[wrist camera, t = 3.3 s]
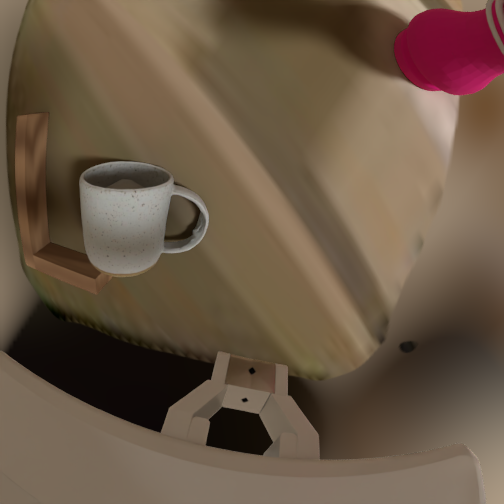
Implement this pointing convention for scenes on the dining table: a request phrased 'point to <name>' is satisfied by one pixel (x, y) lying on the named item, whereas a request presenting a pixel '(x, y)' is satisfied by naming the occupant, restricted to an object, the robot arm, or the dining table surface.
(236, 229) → the dining table surface
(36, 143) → the walnut stop
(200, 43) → the dining table surface
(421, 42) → the pepper mill
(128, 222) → the ceramic mug
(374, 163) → the dining table surface
